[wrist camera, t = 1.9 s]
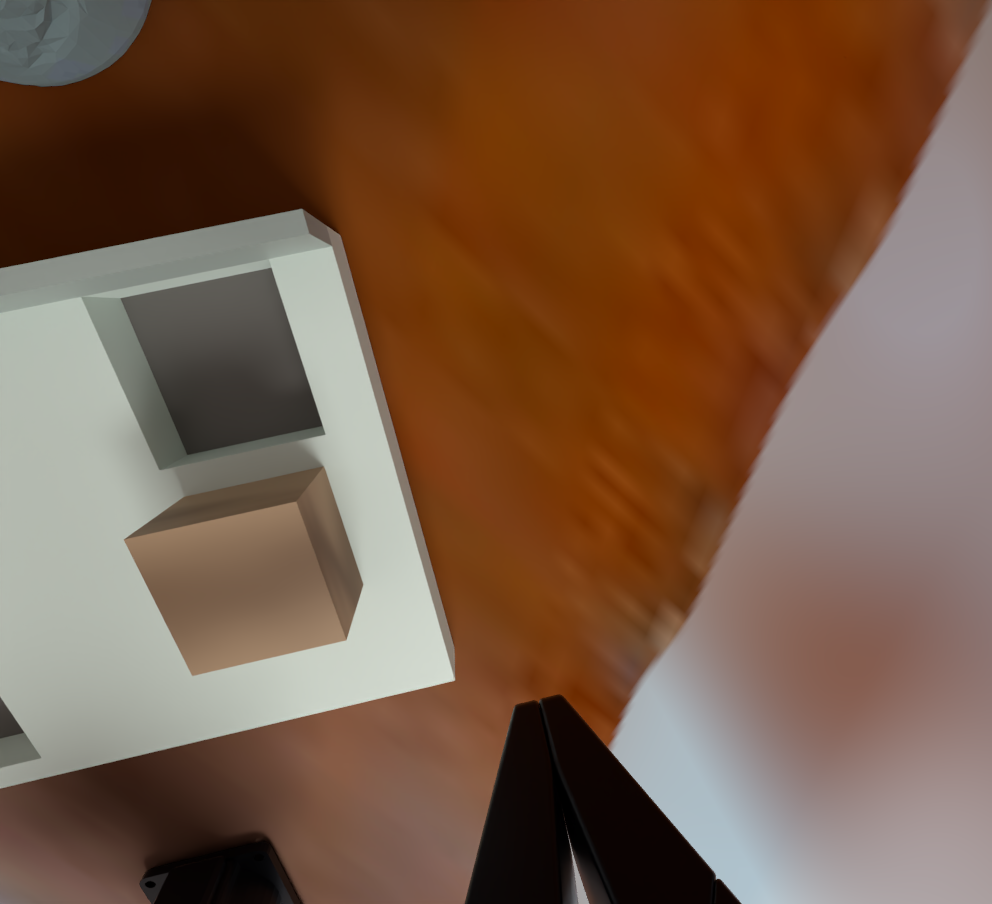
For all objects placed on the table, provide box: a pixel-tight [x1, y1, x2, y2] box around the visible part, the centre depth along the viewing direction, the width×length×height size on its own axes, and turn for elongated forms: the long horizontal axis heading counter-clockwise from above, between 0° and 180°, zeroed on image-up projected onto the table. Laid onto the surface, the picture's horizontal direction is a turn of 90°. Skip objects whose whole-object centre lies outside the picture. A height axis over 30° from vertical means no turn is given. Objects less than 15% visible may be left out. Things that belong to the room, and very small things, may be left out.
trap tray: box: [0, 209, 455, 788], centre depth 16 cm, size 18×26×4 cm
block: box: [124, 466, 364, 676], centre depth 16 cm, size 5×5×3 cm
